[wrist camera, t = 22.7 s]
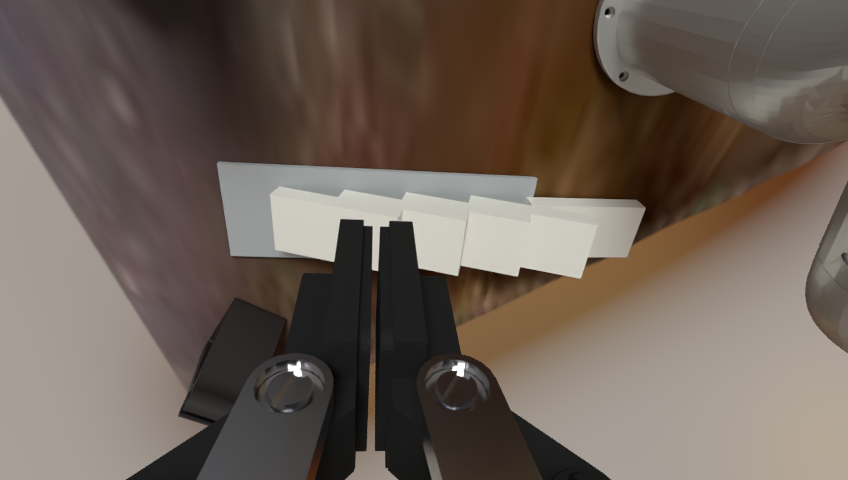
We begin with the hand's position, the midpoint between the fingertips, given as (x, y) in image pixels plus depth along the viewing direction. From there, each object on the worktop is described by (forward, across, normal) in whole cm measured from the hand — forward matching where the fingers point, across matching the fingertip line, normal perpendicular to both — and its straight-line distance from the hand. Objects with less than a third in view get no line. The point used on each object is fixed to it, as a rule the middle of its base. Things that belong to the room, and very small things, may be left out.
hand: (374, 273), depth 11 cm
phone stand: (+32, +14, +32) cm, 48 cm away
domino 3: (+31, -3, +16) cm, 35 cm away
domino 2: (+31, +3, +16) cm, 35 cm away
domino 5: (+31, -15, +16) cm, 38 cm away
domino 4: (+31, -9, +16) cm, 36 cm away
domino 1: (+31, +9, +16) cm, 36 cm away
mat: (+32, -1, +16) cm, 36 cm away
